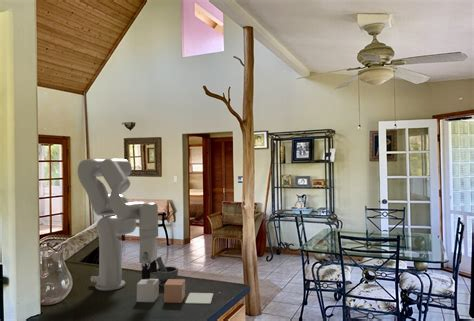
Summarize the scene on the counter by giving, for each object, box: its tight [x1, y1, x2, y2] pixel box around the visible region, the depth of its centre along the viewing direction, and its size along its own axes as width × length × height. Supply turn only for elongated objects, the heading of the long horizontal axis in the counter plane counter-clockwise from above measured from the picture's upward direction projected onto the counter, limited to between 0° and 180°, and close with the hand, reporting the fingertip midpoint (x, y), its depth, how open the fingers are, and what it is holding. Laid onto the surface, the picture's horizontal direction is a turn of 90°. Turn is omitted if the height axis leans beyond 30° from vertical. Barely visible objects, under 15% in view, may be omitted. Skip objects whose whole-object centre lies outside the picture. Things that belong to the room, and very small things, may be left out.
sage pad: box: [184, 292, 214, 305], centre depth 149 cm, size 10×11×1 cm
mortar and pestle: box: [155, 256, 179, 288], centre depth 167 cm, size 11×9×12 cm
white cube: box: [136, 278, 160, 303], centre depth 149 cm, size 7×7×7 cm
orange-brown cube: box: [163, 278, 186, 304], centre depth 149 cm, size 7×7×7 cm
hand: (149, 275), depth 149 cm, fingers open, 9 cm apart
